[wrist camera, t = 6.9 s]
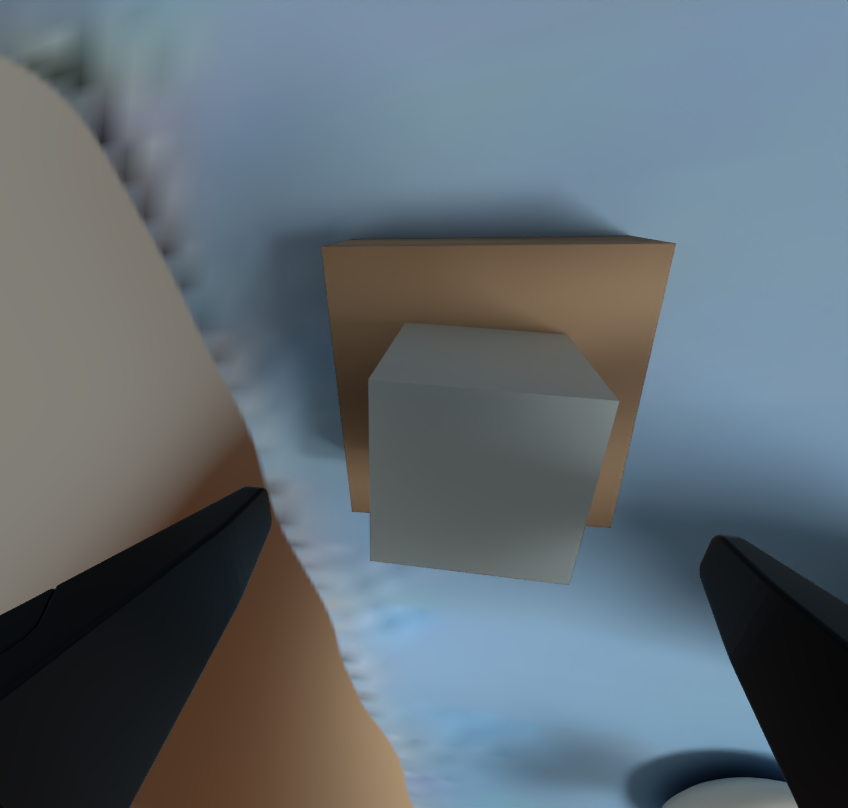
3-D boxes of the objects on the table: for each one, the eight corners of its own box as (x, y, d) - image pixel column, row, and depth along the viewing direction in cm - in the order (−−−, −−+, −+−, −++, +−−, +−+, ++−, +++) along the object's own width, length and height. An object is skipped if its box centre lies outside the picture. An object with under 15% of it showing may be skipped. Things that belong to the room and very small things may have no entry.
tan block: (584, 467, 19) (610, 527, 15) (373, 457, 20) (352, 511, 17) (626, 234, 15) (675, 243, 11) (355, 238, 16) (321, 246, 12)
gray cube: (539, 471, 15) (569, 585, 10) (401, 457, 15) (370, 560, 11) (566, 334, 13) (619, 400, 8) (405, 322, 13) (368, 379, 8)
